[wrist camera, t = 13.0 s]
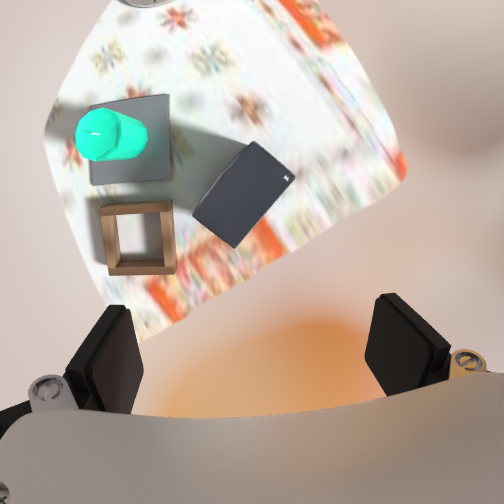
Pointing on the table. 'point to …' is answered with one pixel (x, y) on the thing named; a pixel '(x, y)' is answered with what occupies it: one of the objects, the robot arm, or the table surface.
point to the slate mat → (155, 152)
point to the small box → (243, 194)
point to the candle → (110, 136)
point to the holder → (112, 239)
